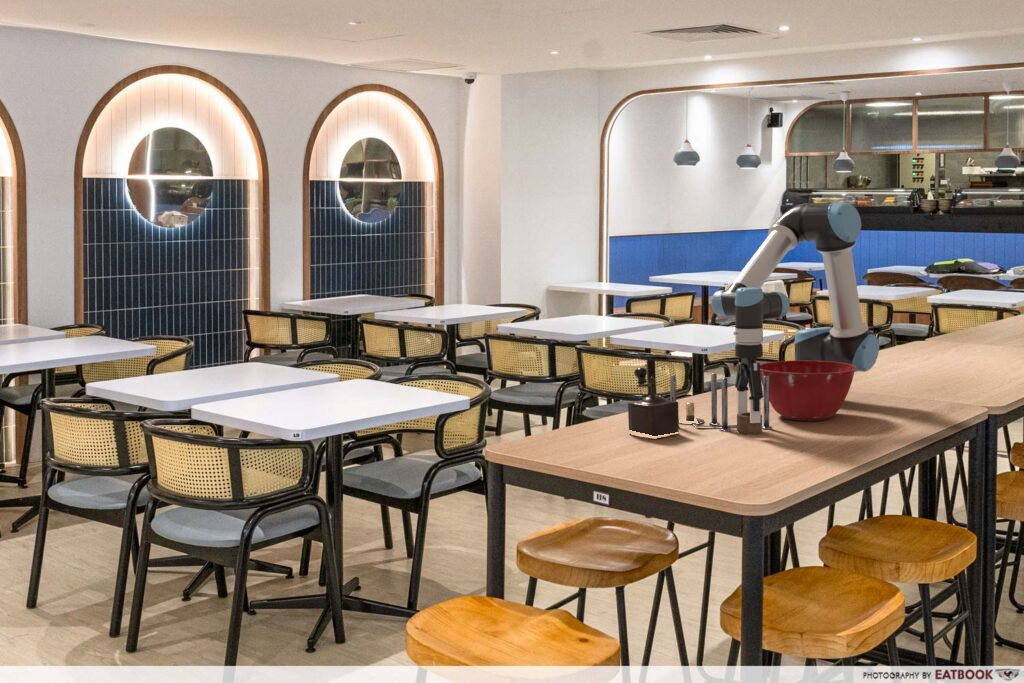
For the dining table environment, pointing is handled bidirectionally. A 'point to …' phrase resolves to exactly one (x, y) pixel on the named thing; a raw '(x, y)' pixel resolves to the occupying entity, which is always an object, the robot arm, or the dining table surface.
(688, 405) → the brass peg
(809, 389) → the mixing bowl
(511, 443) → the dining table surface
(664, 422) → the brown coffee grinder
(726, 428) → the wire course
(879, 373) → the dining table surface
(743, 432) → the napkin ring
